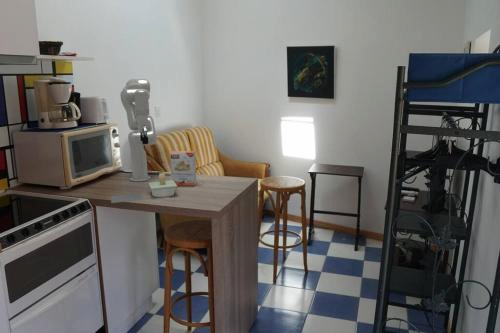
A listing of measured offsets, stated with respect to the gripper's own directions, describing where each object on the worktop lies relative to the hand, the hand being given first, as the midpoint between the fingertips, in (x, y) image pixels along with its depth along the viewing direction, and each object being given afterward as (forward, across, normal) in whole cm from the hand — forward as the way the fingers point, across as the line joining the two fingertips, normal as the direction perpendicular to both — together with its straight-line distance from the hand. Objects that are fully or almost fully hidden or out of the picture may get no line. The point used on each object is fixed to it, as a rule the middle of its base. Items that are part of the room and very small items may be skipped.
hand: (144, 142), depth 236 cm
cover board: (+23, +13, +7) cm, 27 cm away
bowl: (+28, +13, +7) cm, 32 cm away
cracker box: (+29, -2, +22) cm, 37 cm away
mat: (+28, +13, -13) cm, 33 cm away
